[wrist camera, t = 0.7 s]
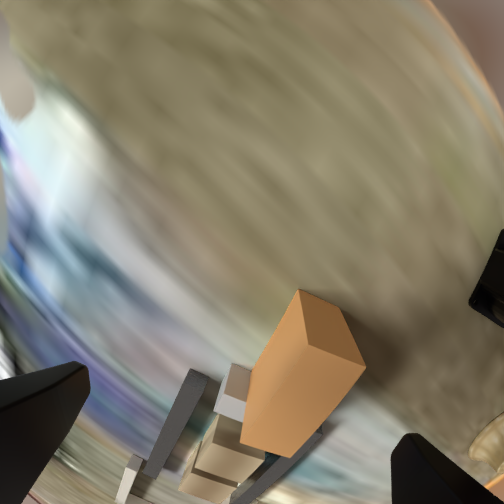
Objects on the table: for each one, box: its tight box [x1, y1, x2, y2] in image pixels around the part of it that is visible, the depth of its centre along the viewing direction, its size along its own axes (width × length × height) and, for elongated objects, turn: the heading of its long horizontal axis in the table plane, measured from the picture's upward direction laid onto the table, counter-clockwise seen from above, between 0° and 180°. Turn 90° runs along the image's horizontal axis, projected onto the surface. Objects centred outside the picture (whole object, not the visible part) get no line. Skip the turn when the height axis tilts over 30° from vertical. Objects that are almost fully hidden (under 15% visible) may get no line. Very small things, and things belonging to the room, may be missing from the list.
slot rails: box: [142, 369, 323, 504], centre depth 21 cm, size 11×15×2 cm
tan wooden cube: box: [178, 441, 238, 504], centre depth 21 cm, size 4×4×4 cm
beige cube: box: [195, 413, 265, 483], centre depth 20 cm, size 4×4×4 cm
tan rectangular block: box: [213, 289, 366, 458], centre depth 16 cm, size 6×9×7 cm
